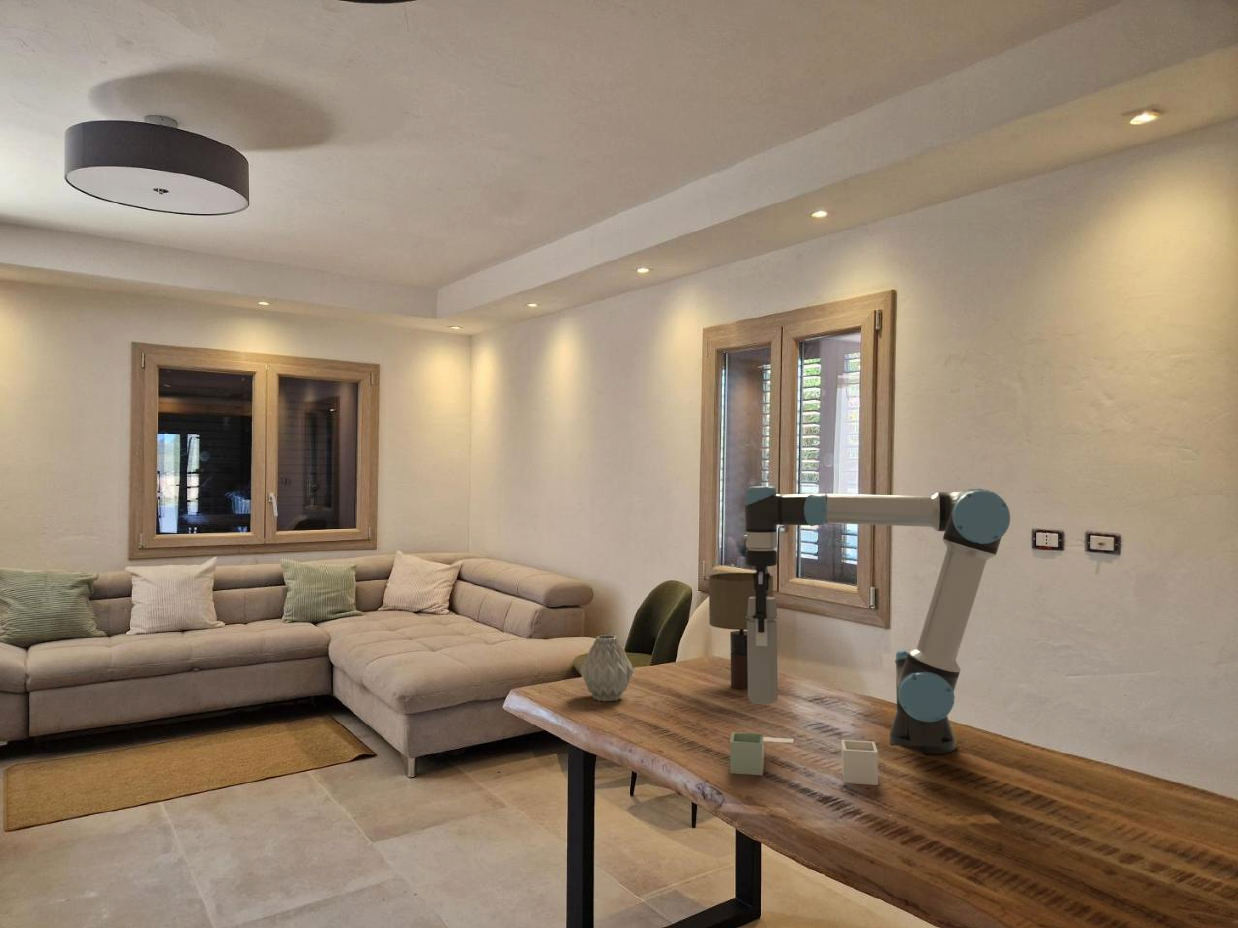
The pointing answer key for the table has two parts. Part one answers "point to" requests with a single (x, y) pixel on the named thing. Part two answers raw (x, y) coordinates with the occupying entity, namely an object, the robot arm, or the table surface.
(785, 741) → the felt mat
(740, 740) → the sage open box
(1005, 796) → the table surface
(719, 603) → the lamp
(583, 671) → the vase
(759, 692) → the water bottle
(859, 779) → the cream open box
